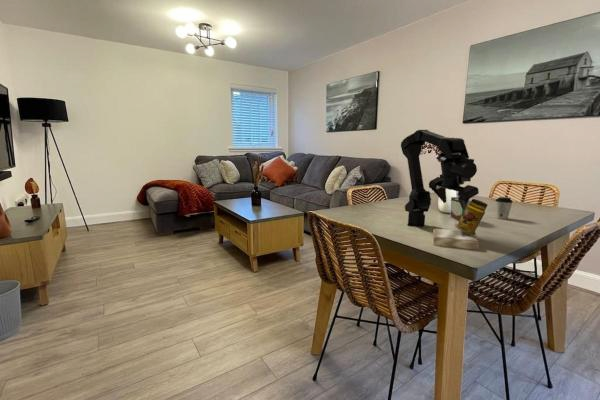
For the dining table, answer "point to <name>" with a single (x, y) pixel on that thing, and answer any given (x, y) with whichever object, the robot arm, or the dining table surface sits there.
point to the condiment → (471, 217)
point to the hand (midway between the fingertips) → (454, 205)
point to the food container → (457, 208)
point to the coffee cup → (503, 207)
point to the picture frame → (454, 239)
